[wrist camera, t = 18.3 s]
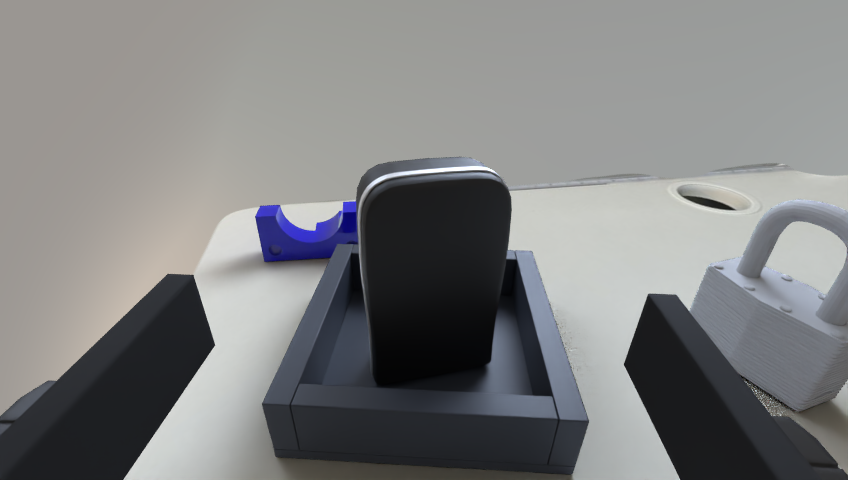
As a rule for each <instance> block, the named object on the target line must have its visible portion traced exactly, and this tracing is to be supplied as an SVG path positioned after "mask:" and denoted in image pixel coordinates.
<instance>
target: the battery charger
mask: <svg viewBox="0 0 848 480" xmlns="http://www.w3.org/2000/svg"><path fill="white" fill-rule="evenodd" d="M511 211H512V208H511V196H510V193H509V190H508V187H507V185H506V182H505V181H504V179H503V178H502V177H501V176H500V175H499V174H497V173H496V172H495V171H493V170H491V169H489V168H487V167H486V166H485V165H484V164H483V163H481V162H479V161H476V160H474V159H472V158H467V157H448V158H447V157H446V158H425V159H415V160H405V161H395V162H387V163H383V164H378V165H376V166H374V167H373V168H371V169H369V170H368V171H367V172H366V173H365V174H364V176H362V178H361V180H360V183H359V185H358V187H357V197H356V216H357V237H358V250H359V261H360V270H361V280H362V287H363V295H364V303H365V310H366V316H367V322H368V331H369V344H370V370H371V374H372V377H374V380H375V382H376V383H377V384H387V383H393V382H400V381H406V380H412V379H418V378H423V377H429V376H434V375H439V374H444V373H449V372H454V371H458V370H463V369H468V368H472V367H476V366H480V365H485V364H488V363H490V362H491V359H492V347H493V337H494V329H495V321H496V315H497V310H498V305H499V300H500V294H501V289H502V283H503V277H504V271H505V265H506V258H507V251H508V242H509V233H510V223H511Z"/></svg>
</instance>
